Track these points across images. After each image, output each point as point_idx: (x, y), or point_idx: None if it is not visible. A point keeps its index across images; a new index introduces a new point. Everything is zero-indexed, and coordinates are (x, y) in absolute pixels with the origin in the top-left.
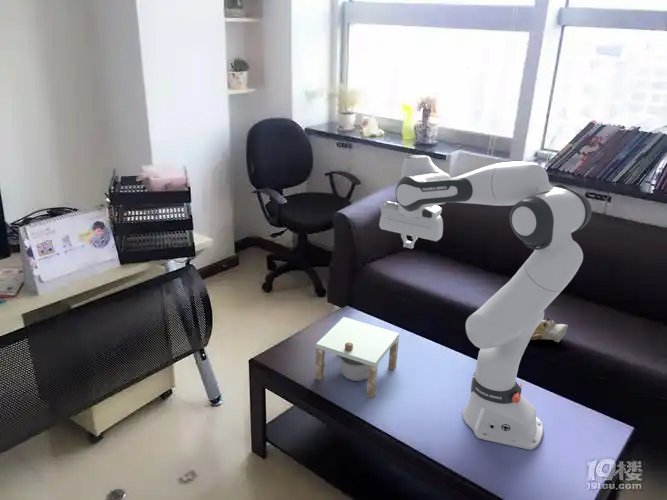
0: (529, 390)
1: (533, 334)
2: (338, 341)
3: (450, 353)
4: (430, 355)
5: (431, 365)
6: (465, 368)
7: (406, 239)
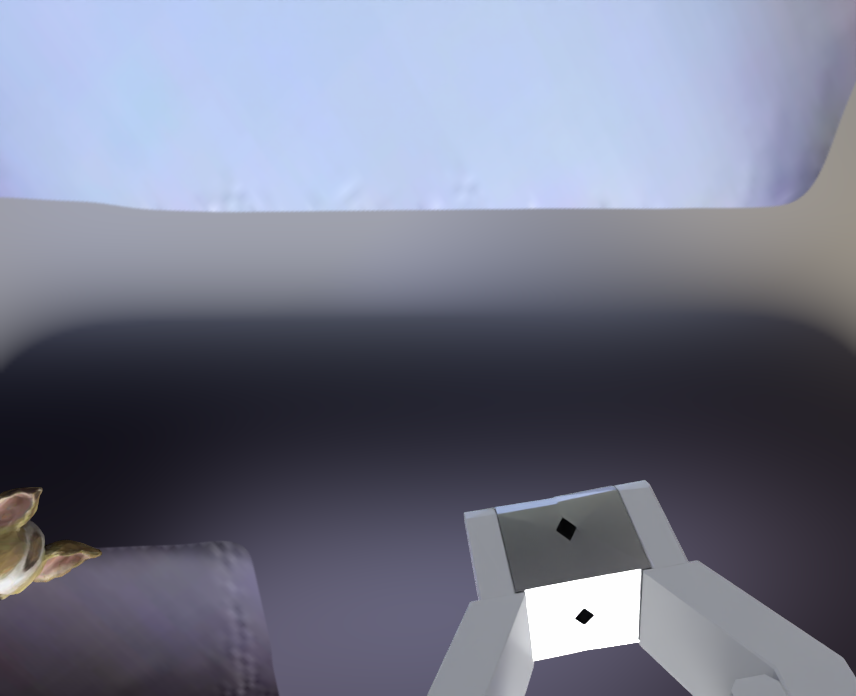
0: None
1: (10, 514)
2: None
3: (184, 196)
4: (243, 112)
5: (179, 28)
6: (42, 128)
7: (669, 650)
